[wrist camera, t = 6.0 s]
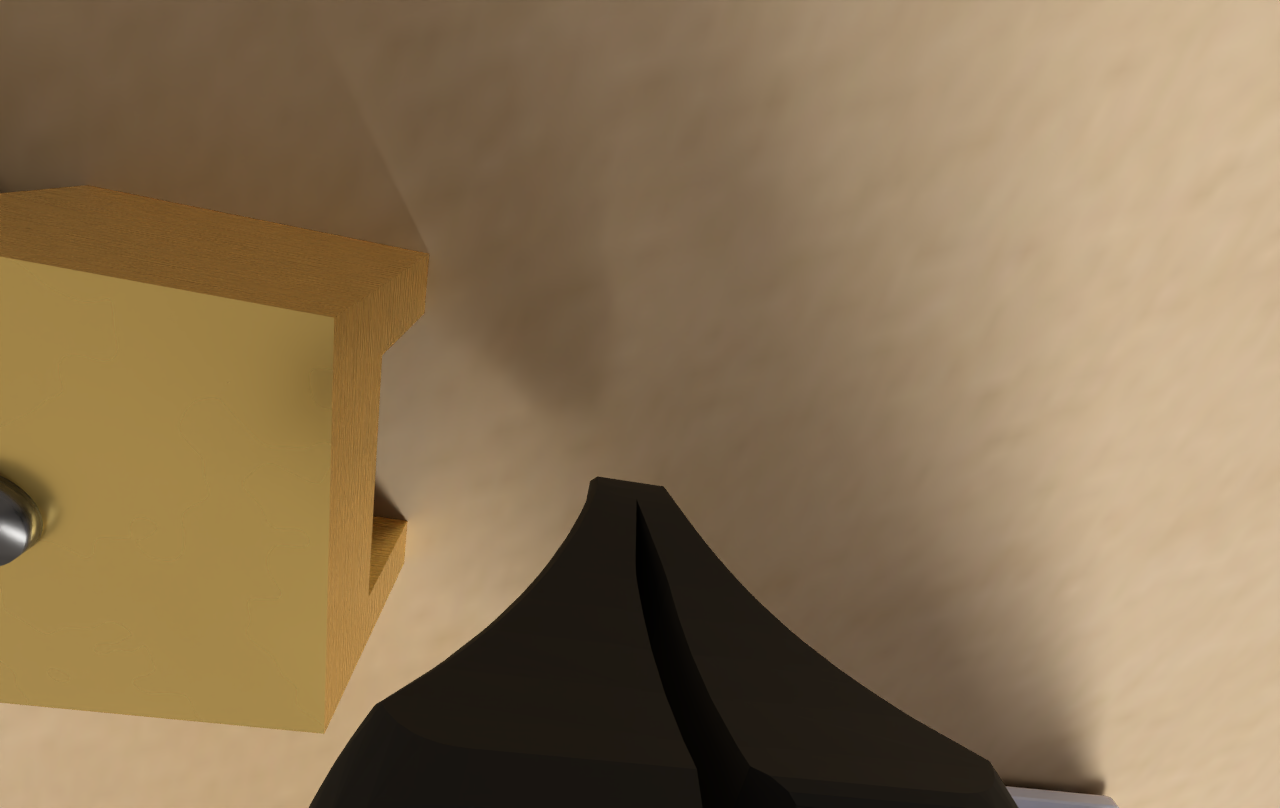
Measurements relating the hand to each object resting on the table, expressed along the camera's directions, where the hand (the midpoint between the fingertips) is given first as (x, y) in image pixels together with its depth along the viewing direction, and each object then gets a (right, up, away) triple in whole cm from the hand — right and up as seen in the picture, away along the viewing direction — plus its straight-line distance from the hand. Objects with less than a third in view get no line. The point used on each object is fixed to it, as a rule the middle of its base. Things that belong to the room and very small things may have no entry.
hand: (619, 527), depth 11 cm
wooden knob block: (-7, +2, +2) cm, 8 cm away
